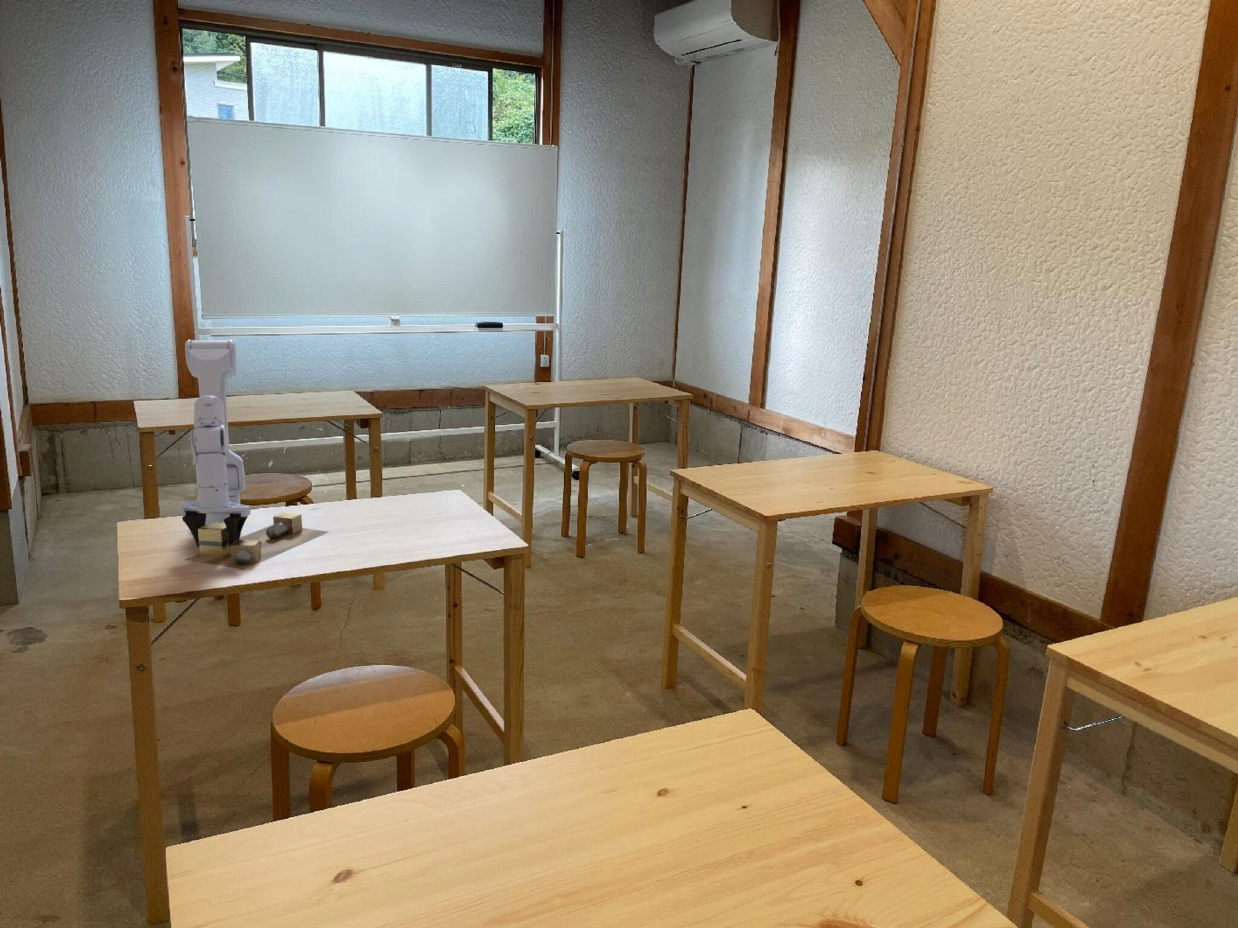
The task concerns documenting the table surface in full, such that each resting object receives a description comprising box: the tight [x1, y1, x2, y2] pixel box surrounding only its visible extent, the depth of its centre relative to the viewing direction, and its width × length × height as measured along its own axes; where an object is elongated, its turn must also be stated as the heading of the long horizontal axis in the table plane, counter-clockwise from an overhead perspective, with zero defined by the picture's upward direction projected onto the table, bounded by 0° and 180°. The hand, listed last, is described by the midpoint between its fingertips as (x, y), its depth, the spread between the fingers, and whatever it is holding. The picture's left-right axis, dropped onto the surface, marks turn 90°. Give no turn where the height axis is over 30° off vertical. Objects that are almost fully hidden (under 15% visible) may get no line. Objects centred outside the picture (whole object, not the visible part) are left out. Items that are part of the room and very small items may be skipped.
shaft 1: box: [230, 538, 262, 565], centre depth 183 cm, size 9×5×4 cm, turn 6°
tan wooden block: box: [198, 522, 231, 558], centre depth 185 cm, size 5×5×6 cm
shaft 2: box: [266, 511, 303, 539], centre depth 199 cm, size 9×5×4 cm, turn 166°
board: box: [184, 523, 329, 570], centre depth 192 cm, size 15×27×1 cm, turn 161°
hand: (217, 547), depth 185 cm, fingers open, 7 cm apart
